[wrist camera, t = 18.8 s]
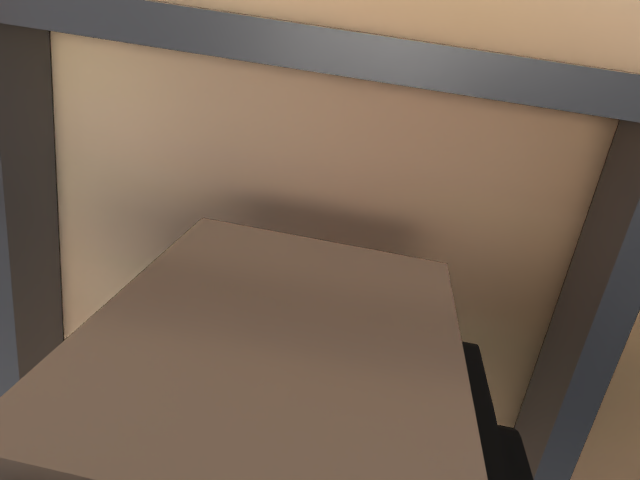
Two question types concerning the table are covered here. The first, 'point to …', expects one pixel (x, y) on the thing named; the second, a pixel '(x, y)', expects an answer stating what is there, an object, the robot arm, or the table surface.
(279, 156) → the table surface
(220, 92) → the table surface
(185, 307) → the greyish beige block
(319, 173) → the table surface
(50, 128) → the tray
